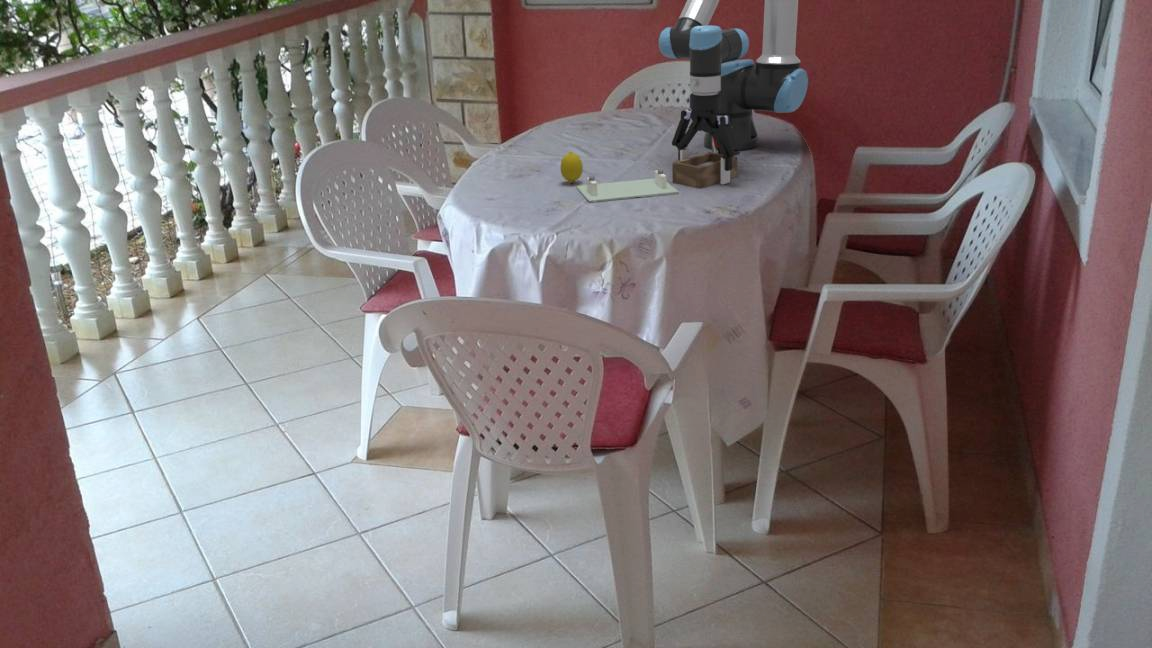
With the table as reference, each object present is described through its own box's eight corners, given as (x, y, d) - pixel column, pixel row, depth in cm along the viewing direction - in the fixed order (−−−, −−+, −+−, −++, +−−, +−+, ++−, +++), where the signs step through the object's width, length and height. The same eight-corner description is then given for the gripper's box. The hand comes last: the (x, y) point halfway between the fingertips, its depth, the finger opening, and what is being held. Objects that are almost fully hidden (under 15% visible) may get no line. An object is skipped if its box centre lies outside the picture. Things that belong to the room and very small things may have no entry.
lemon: (567, 187, 256) (566, 155, 253) (557, 182, 261) (556, 151, 258) (587, 183, 259) (585, 152, 255) (576, 179, 263) (575, 148, 260)
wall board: (661, 179, 259) (661, 162, 258) (678, 193, 246) (678, 176, 245) (576, 188, 255) (575, 171, 254) (589, 202, 243) (588, 185, 241)
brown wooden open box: (709, 171, 265) (709, 152, 263) (737, 176, 258) (737, 157, 257) (672, 182, 256) (672, 162, 254) (699, 188, 250) (699, 168, 248)
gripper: (657, 89, 255) (658, 174, 263) (735, 100, 238) (733, 190, 246) (677, 85, 260) (678, 168, 268) (755, 95, 243) (753, 183, 251)
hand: (704, 179), depth 257 cm, fingers open, 13 cm apart
